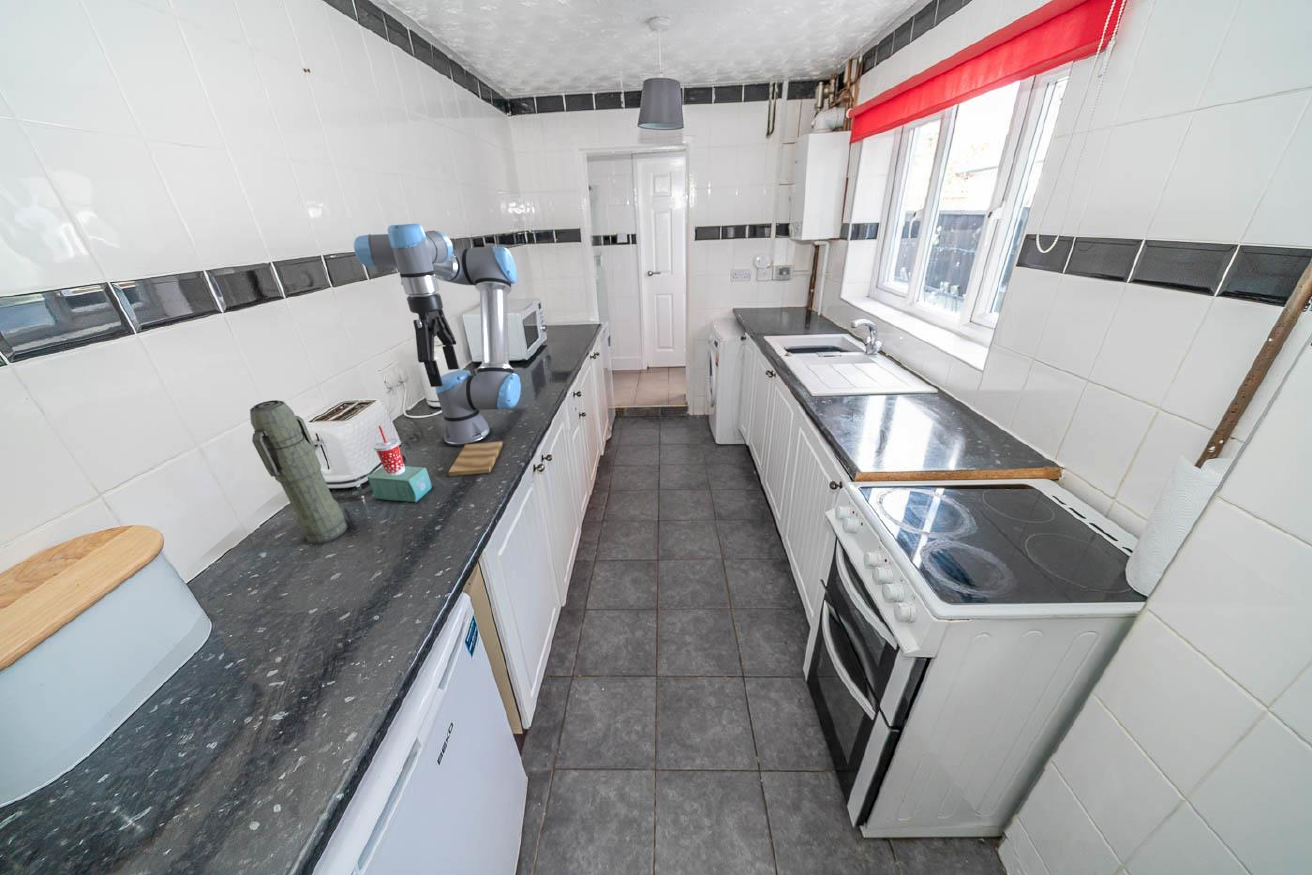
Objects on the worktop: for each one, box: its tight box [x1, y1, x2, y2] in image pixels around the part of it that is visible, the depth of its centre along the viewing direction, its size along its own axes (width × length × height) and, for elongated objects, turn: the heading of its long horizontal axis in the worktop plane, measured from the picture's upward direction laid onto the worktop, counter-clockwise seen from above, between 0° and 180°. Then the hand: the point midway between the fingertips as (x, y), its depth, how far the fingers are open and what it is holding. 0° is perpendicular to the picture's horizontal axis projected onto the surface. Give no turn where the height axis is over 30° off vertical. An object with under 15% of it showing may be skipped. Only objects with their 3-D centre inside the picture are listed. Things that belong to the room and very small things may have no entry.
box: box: [366, 465, 432, 503], centre depth 127 cm, size 7×14×8 cm, turn 79°
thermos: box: [249, 399, 348, 545], centre depth 106 cm, size 9×12×35 cm
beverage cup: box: [372, 425, 405, 476], centre depth 122 cm, size 6×6×14 cm
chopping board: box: [448, 441, 503, 477], centre depth 144 cm, size 18×12×2 cm, turn 5°
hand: (445, 377), depth 120 cm, fingers open, 13 cm apart
